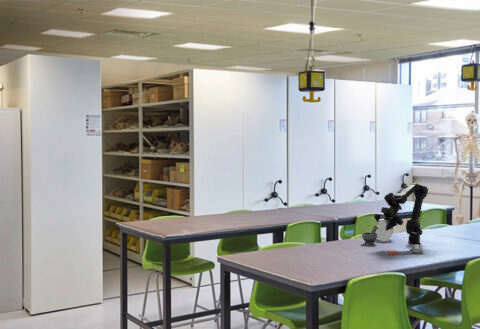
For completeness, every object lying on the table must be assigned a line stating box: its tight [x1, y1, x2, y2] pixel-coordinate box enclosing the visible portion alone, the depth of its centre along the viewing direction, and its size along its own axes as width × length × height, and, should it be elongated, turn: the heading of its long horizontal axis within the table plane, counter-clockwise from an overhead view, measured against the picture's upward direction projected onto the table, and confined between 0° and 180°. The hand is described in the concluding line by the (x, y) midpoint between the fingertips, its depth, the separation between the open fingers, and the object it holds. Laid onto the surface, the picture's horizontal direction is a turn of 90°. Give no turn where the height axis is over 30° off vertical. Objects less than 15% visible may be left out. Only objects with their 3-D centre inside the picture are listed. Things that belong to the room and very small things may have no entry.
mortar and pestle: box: [361, 225, 378, 246], centre depth 395 cm, size 11×9×12 cm
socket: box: [377, 219, 391, 242], centre depth 372 cm, size 5×5×13 cm
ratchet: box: [386, 244, 424, 256], centre depth 359 cm, size 23×7×5 cm, turn 104°
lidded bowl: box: [375, 224, 394, 239], centre depth 411 cm, size 13×13×11 cm
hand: (382, 229), depth 371 cm, fingers closed on socket, 5 cm apart
